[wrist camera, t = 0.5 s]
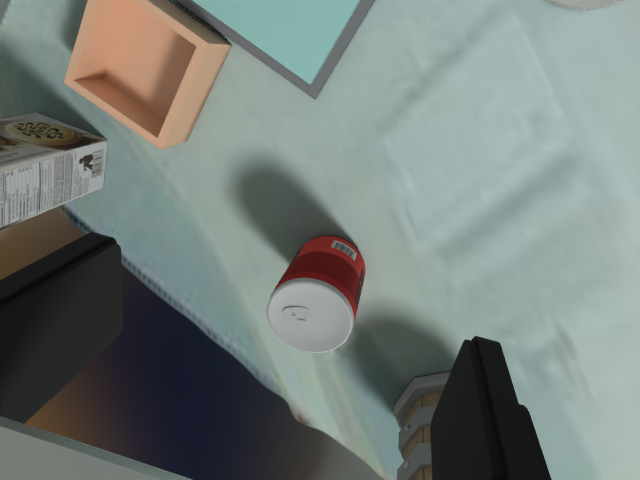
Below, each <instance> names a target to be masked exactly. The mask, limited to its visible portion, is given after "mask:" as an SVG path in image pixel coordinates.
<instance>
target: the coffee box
mask: <svg viewBox="0 0 640 480" xmlns="http://www.w3.org/2000/svg"><path fill="white" fill-rule="evenodd" d="M106 152H107V140H106V139H105V138H103V137H100V136H97V135H95V134H92V133H90V132H87V131H84V130H82V129H79V128H76V127H74V126H71V125H68V124H66V123H63V122H61V121H58V120H55V119H53V118H50V117H47V116H45V115H42V114H40V113H37V112H34V113H28V114H22V115H15V116H8V117H1V118H0V230H2V229H4V228H7V227H10V226H12V225H14V224H17V223H19V222H21V221H24V220H26V219H29V218H31V217H34V216H36V215H38V214H41V213H43V212H45V211H48V210H50V209H53V208H55V207H58V206H60V205H63V204H65V203H68V202H70V201H72V200H75V199H77V198H80V197H82V196H85V195H87V194H89V193H91V192H94V191H96V190H99V189H101V188H103V184H104V173H105V163H106Z"/></svg>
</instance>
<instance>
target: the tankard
mask: <svg viewBox="0 0 640 480" xmlns="http://www.w3.org/2000/svg"><path fill="white" fill-rule="evenodd" d="M450 373H451V372H447V373H441V374H435V375H429V376H423V377H417V378H414V379H413V380H412V381H411V383H410V384H409V386H408V387H407V388H406V390H405V391H404V393H403V394H402V395H401V397H400V398H399V400H398V401H397V402H396V404H395V405H394V415H395V417H396V420H397V422H398V424H399V427H400V429H401V431H400V432H399V445H398V448H399V450H400V453H401V455H402V457H403V459H404V462H403V463H402V465H401V466H400V467H399V468H398V470H397V480H432V461H431V438H430V426H431V420H432V417H433V414H434V412H435V409H436V407H437V404H438V402H439V399H440V397H441V395H442V392H443V390H444V387H445V385H446V383H447V380H448V378H449V375H450Z"/></svg>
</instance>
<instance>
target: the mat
mask: <svg viewBox="0 0 640 480" xmlns="http://www.w3.org/2000/svg"><path fill="white" fill-rule="evenodd" d="M176 1H177V2H179V3H180V4H182V5H183V6H184V7H186V8H187V9H189V10H190V11H191V12H193V13H194V14H196V15H197V16H198V17H200V18H201V19H203V20H204V21H205V22H207V23H208V24H210V25H211V26H212V27H214V28H215V29H217V30H218V31H219V32H221V33H222V34H224V35H225V36H226V37H228V38H229V39H231V40H232V41H234V42H235V43H236V44H238V45H239V46H241V47H242V48H243V49H245V50H246V51H248V52H249V53H250V54H252V55H253V56H255V57H256V58H257V59H259V60H260V61H262V62H263V63H264V64H266V65H267V66H269V67H270V68H271V69H273V70H274V71H276V72H277V73H278V74H280V75H281V76H283V77H284V78H286V79H287V80H288V81H290V82H291V83H293V84H294V85H295V86H297V87H298V88H300V89H301V90H302V91H304V92H305V93H307V94H308V95H309V96H311V97H312V98H314V99H316V98H317V97H318V95H319V93H320V92H321V90H322V88H323V87H324V85H325V83H326V82H327V80H328V78H329V77H330V75H331V73H332V72H333V70H334V68H335V67H336V65H337V63H338V62H339V60H340V58H341V57H342V55H343V53H344V52H345V50H346V48H347V47H348V45H349V43H350V42H351V40H352V38H353V37H354V35H355V33H356V32H357V30H358V28H359V27H360V25H361V23H362V22H363V20H364V19H365V17H366V15H367V14H368V12H369V10H370V9H371V7H372V5H373V4H374V2H375V0H360V2H359V4H358V6H357V7H356V9H355V11H354V12H353V14H352V16H351V17H350V19H349V21H348V23H347V24H346V26H345V28H344V29H343V31H342V33H341V35H340V36H339V38H338V40H337V41H336V43H335V45H334V47H333V48H332V50H331V52H330V53H329V55H328V57H327V58H326V60H325V62H324V64H323V65H322V67H321V69H320V70H319V72H318V74H317V76H316V77H315V79H314V81H313V82H312V84H309V83H307V82H306V81H304V80H303V79H302V78H300V77H299V76H297V75H296V74H295V73H293V72H292V71H290V70H289V69H288V68H286V67H285V66H283V65H282V64H281V63H279V62H278V61H276V60H275V59H274V58H272V57H271V56H269V55H268V54H267V53H265V52H264V51H262V50H261V49H260V48H258V47H257V46H255V45H254V44H253V43H251V42H250V41H248V40H247V39H246V38H244V37H243V36H241V35H240V34H239V33H237V32H236V31H234V30H233V29H232V28H230V27H229V26H227V25H226V24H225V23H223V22H222V21H220V20H219V19H218V18H216V17H215V16H213V15H212V14H211V13H209V12H208V11H206V10H205V9H204V8H202V7H201V6H199V5H198V4H197V3H195V2H194V1H192V0H176Z"/></svg>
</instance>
